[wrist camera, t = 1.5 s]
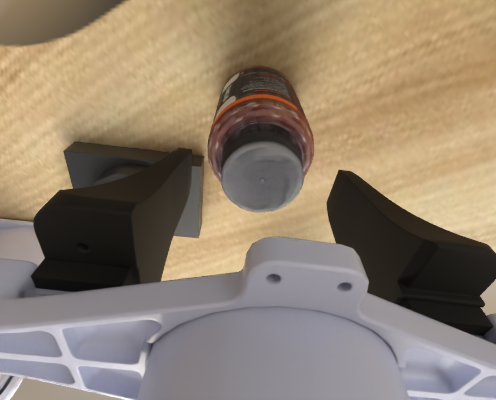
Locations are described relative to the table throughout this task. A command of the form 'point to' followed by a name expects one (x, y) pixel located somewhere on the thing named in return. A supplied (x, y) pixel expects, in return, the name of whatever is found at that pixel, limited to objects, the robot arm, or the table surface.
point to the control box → (125, 164)
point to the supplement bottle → (260, 140)
